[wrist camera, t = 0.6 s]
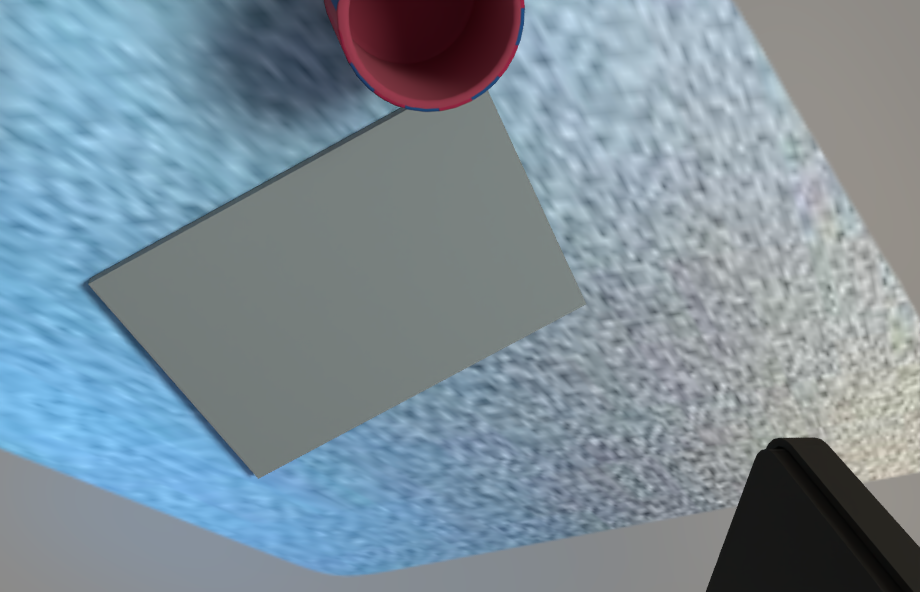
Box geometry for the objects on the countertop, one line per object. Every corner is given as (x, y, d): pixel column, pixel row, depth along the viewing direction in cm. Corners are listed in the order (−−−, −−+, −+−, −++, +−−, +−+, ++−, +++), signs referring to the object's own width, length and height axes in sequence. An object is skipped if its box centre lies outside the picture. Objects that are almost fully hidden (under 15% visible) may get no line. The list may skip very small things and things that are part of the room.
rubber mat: (258, 471, 45) (258, 478, 44) (90, 278, 37) (88, 284, 37) (582, 298, 44) (586, 304, 43) (475, 67, 37) (478, 70, 36)
